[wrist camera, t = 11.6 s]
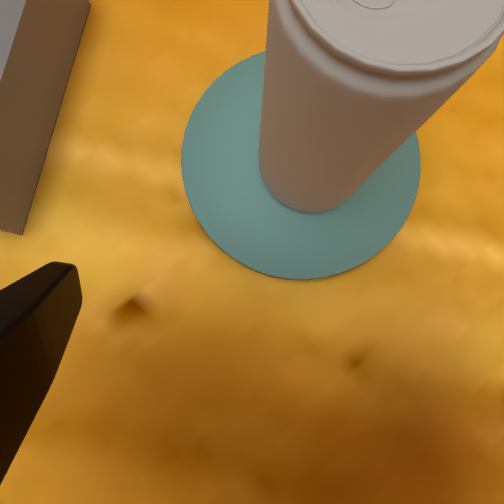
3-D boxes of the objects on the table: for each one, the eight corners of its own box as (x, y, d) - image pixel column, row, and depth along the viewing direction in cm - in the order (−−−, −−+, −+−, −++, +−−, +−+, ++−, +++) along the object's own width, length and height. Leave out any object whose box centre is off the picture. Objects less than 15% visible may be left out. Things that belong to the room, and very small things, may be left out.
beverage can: (240, 138, 20) (230, -109, 8) (334, 97, 20) (462, -201, 8) (284, 232, 19) (345, 121, 7) (380, 189, 20) (587, 15, 8)
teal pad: (457, 202, 21) (467, 197, 20) (262, 324, 20) (263, 326, 19) (331, 19, 22) (336, 6, 21) (142, 130, 21) (137, 121, 20)
